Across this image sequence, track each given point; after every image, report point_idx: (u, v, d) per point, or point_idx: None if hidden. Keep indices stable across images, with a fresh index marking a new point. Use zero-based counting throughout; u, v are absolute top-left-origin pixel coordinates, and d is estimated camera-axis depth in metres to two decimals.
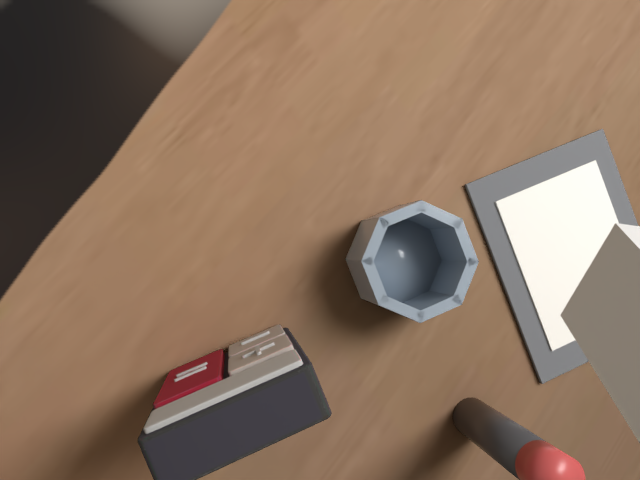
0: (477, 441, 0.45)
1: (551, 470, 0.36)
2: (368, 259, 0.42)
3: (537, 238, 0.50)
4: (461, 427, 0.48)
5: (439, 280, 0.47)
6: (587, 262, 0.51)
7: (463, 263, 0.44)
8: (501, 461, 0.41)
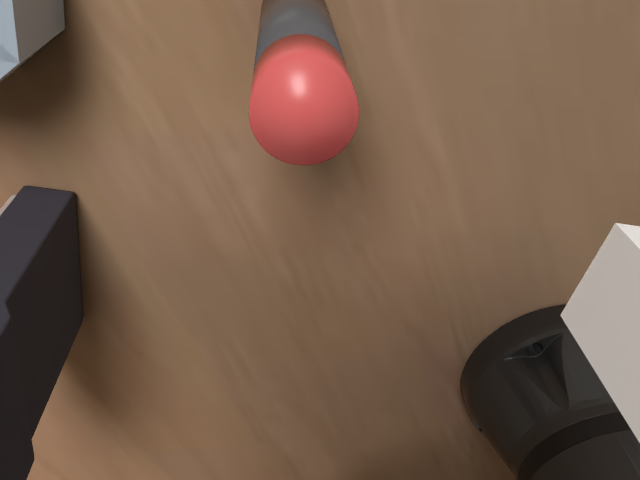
0: None
1: (269, 123, 0.17)
2: None
3: None
4: None
5: None
6: None
7: None
8: None
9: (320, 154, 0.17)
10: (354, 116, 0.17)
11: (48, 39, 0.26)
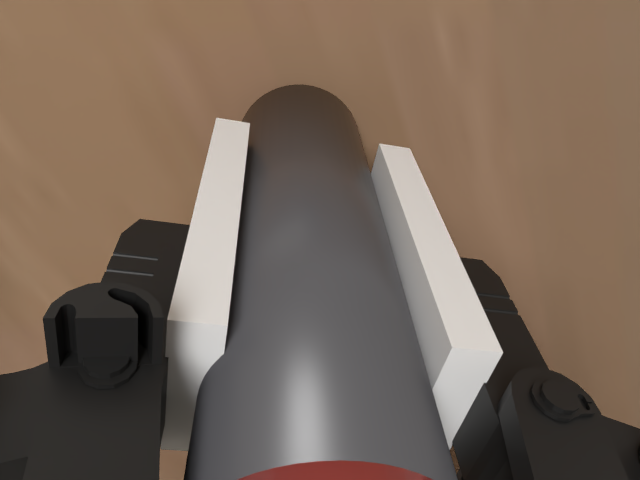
0: None
1: None
2: None
3: None
4: None
5: None
6: None
7: None
8: None
9: None
10: None
11: None
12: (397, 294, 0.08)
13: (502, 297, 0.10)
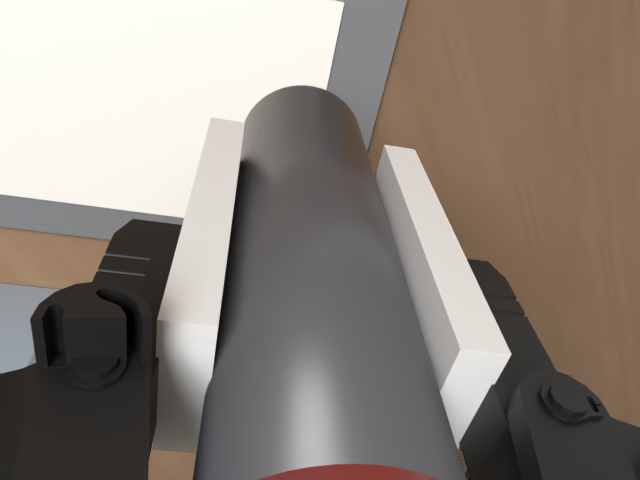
0: None
1: None
2: None
3: (80, 156, 0.24)
4: None
5: None
6: (175, 86, 0.23)
7: None
8: None
9: None
10: None
11: None
12: (404, 296, 0.08)
13: (508, 298, 0.10)
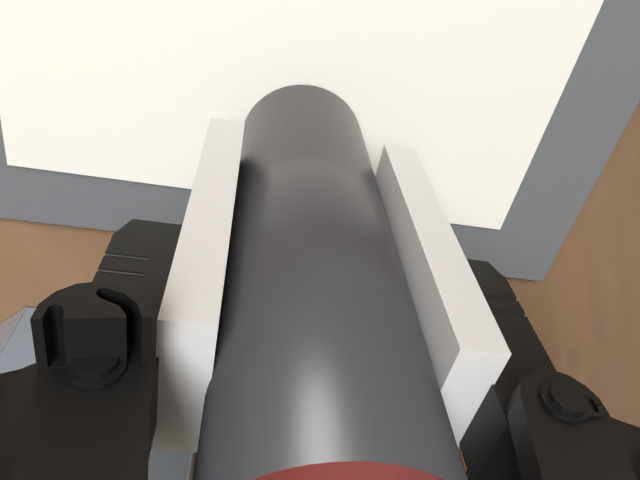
0: None
1: None
2: None
3: (180, 104, 0.15)
4: None
5: None
6: None
7: None
8: None
9: None
10: None
11: None
12: (404, 295, 0.08)
13: (508, 298, 0.10)
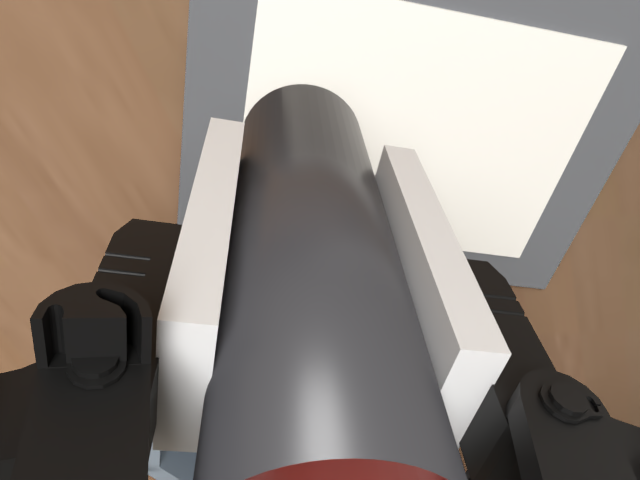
0: None
1: None
2: None
3: None
4: None
5: None
6: (446, 124, 0.24)
7: None
8: None
9: None
10: None
11: None
12: (404, 293, 0.08)
13: (508, 298, 0.10)
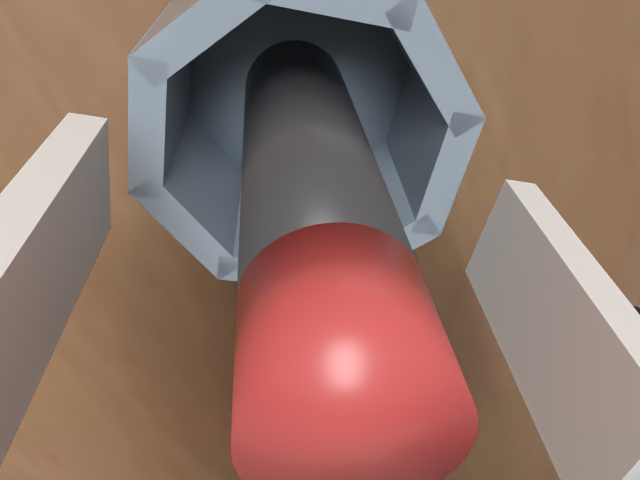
0: None
1: (277, 460, 0.07)
2: (222, 264, 0.16)
3: None
4: None
5: (400, 48, 0.17)
6: None
7: (392, 28, 0.13)
8: None
9: None
10: (465, 441, 0.08)
11: None
12: (375, 165, 0.12)
13: None
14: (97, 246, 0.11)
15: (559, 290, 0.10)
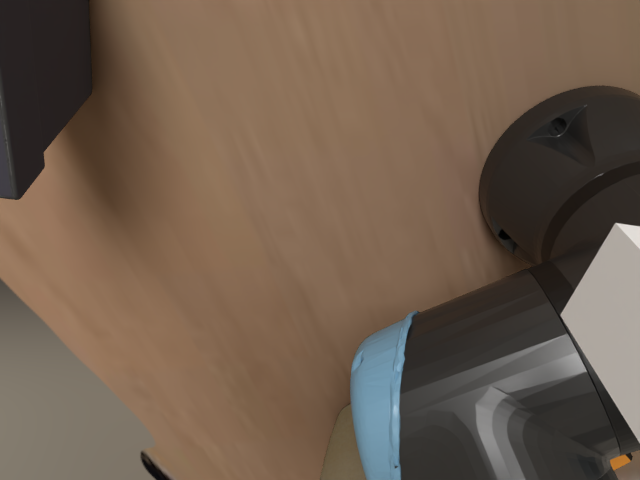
0: None
1: None
2: None
3: None
4: None
5: None
6: None
7: None
8: None
9: None
10: None
11: None
12: None
13: None
14: None
15: None
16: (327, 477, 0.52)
